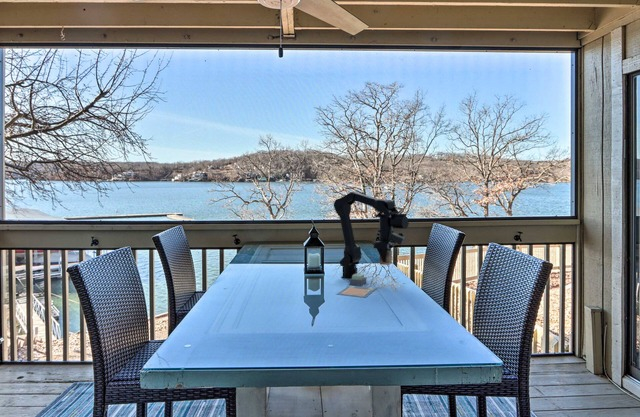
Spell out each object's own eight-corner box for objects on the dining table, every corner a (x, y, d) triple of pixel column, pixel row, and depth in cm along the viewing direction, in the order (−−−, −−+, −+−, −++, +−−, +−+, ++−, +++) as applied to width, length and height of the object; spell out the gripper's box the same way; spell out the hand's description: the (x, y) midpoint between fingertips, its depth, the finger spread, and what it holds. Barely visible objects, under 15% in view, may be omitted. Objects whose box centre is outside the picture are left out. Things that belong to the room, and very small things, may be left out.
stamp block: (379, 264, 192) (379, 251, 192) (382, 262, 196) (382, 249, 196) (389, 265, 190) (389, 252, 190) (391, 263, 194) (391, 250, 194)
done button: (352, 279, 194) (352, 275, 194) (355, 277, 198) (355, 273, 198) (361, 280, 192) (361, 276, 192) (364, 278, 196) (364, 274, 196)
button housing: (349, 284, 194) (349, 279, 194) (354, 281, 199) (354, 276, 199) (362, 285, 191) (362, 280, 191) (366, 282, 197) (366, 277, 197)
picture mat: (336, 294, 178) (336, 293, 178) (348, 285, 191) (348, 285, 191) (365, 297, 172) (365, 297, 172) (376, 288, 186) (376, 288, 186)
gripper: (398, 230, 180) (398, 266, 181) (407, 225, 197) (407, 258, 198) (373, 229, 185) (373, 264, 186) (384, 224, 202) (384, 256, 203)
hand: (385, 261), depth 193 cm, fingers closed on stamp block, 4 cm apart
